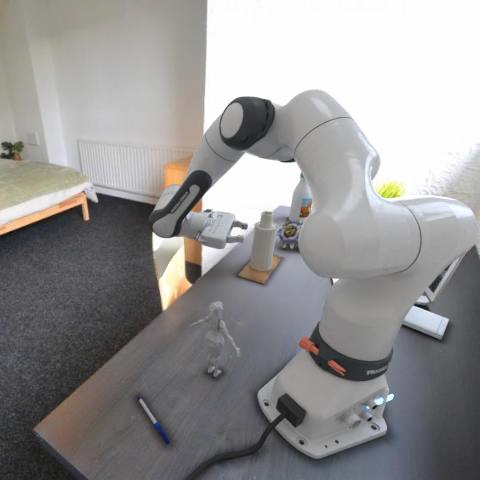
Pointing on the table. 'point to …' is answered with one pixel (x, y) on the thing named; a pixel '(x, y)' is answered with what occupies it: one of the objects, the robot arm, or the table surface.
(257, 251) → the bottle
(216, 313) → the human figurine
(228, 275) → the table surface
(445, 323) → the hard drive
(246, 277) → the tan flat rectangular board
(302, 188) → the milk bottle
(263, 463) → the table surface
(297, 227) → the passion flower
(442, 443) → the table surface
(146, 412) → the ballpoint pen
